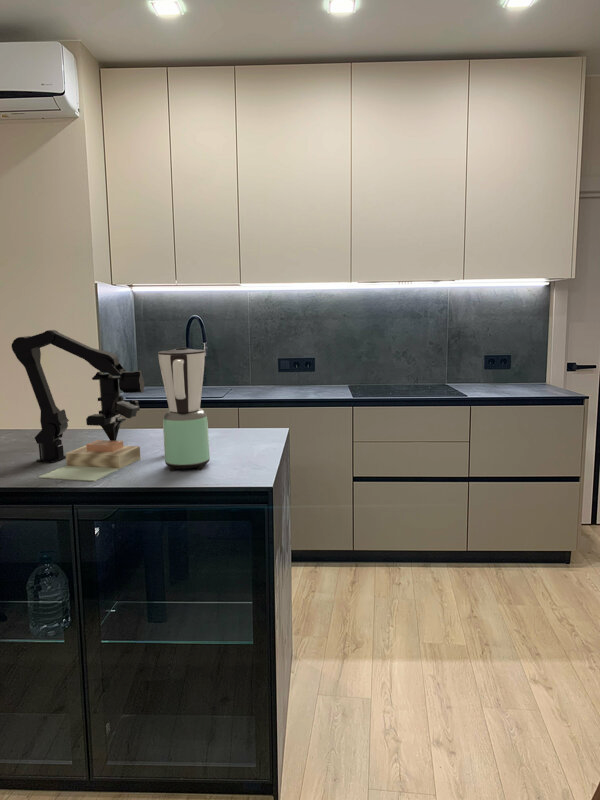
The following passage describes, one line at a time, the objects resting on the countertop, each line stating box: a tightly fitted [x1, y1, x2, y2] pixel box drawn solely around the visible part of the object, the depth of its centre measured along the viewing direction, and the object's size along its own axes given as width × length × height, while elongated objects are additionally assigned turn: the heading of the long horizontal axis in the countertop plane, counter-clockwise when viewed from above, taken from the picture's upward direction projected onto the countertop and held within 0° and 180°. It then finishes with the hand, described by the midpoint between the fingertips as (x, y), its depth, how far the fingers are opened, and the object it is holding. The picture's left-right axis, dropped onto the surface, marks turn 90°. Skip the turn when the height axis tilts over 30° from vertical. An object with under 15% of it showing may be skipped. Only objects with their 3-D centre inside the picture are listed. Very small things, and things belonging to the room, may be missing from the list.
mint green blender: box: [157, 347, 211, 472], centre depth 174 cm, size 19×13×35 cm
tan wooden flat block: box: [65, 445, 141, 470], centre depth 184 cm, size 18×12×4 cm, turn 75°
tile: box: [85, 439, 124, 452], centre depth 185 cm, size 9×6×2 cm, turn 75°
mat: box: [38, 465, 120, 482], centre depth 173 cm, size 18×12×1 cm, turn 75°
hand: (113, 442), depth 189 cm, fingers closed
